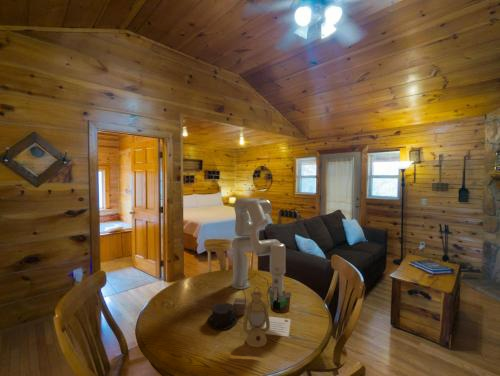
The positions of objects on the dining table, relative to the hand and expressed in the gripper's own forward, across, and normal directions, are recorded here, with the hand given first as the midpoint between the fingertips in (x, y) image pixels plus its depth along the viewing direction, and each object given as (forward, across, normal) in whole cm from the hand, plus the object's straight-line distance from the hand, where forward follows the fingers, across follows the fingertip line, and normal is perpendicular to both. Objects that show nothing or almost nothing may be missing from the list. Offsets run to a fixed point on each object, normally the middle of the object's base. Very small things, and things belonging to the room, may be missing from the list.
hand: (277, 305), depth 119 cm
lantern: (+10, -13, +8) cm, 18 cm away
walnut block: (+10, +8, +21) cm, 25 cm away
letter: (+10, 0, 0) cm, 10 cm away
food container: (+2, -1, 0) cm, 2 cm away
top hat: (+10, -2, +27) cm, 29 cm away
